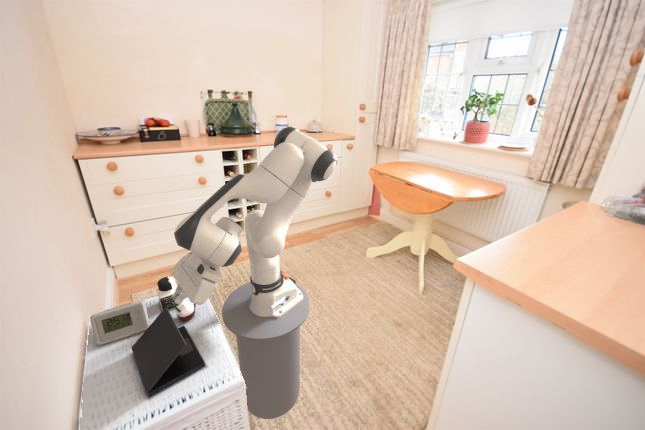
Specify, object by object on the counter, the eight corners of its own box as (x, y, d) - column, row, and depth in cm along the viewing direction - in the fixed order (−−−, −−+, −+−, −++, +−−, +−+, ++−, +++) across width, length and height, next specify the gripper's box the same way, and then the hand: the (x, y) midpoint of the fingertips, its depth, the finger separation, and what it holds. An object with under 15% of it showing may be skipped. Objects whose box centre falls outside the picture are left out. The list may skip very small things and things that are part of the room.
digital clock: (94, 348, 98) (85, 324, 93) (102, 328, 105) (94, 305, 101) (149, 336, 103) (142, 313, 99) (152, 318, 111) (147, 296, 106)
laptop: (184, 328, 107) (183, 325, 106) (205, 366, 93) (204, 362, 92) (134, 352, 97) (133, 347, 96) (149, 397, 83) (148, 393, 83)
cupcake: (195, 308, 116) (190, 284, 111) (201, 317, 112) (197, 292, 107) (170, 320, 110) (164, 294, 106) (175, 329, 106) (169, 304, 101)
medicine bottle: (163, 312, 114) (156, 287, 109) (159, 302, 119) (153, 278, 114) (182, 305, 118) (177, 281, 113) (178, 295, 123) (173, 272, 118)
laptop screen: (167, 307, 100) (165, 307, 99) (187, 344, 86) (184, 344, 85) (133, 348, 96) (131, 347, 96) (148, 393, 83) (145, 393, 82)
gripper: (183, 245, 96) (157, 281, 94) (207, 274, 82) (176, 317, 80) (199, 252, 101) (174, 286, 99) (224, 281, 87) (195, 321, 85)
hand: (175, 300), depth 90 cm, fingers closed
